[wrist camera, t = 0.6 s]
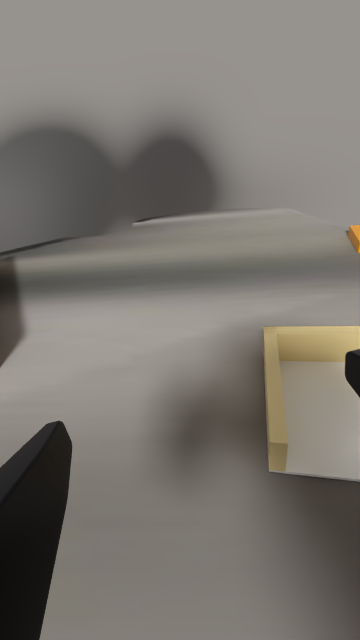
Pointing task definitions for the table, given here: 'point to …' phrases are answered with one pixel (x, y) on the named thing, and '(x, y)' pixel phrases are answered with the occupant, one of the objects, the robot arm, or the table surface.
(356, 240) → the orange block
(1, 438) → the table surface
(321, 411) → the bay
